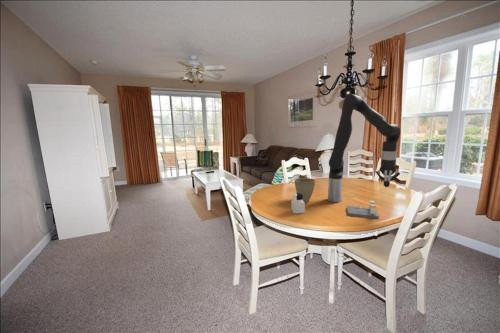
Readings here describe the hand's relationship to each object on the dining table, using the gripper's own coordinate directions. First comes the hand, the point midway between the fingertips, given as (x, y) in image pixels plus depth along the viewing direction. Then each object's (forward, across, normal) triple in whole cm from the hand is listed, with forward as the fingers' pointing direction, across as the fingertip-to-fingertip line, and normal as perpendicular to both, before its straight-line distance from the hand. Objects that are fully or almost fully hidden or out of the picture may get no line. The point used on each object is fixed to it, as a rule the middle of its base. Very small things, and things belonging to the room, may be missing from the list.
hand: (386, 186), depth 130 cm
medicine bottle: (+17, -51, -13) cm, 55 cm away
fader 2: (+15, -7, -7) cm, 18 cm away
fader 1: (+15, -7, 0) cm, 17 cm away
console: (+17, -13, -3) cm, 22 cm away
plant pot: (+17, -50, +10) cm, 54 cm away
